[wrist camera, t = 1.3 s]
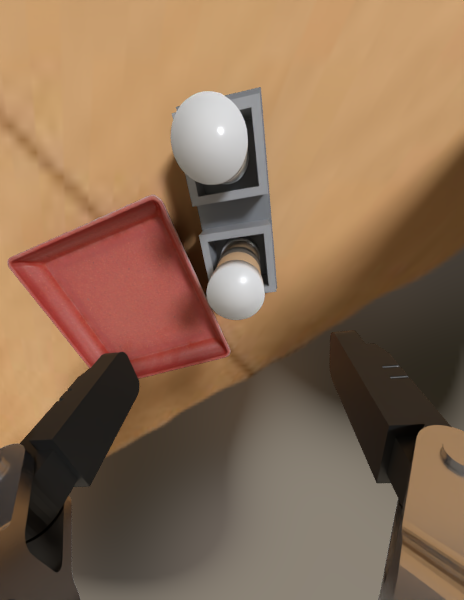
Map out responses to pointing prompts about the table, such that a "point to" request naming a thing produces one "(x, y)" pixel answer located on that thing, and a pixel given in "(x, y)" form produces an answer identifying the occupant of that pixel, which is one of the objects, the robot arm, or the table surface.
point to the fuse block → (239, 198)
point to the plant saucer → (125, 291)
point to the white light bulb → (210, 139)
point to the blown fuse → (237, 281)
